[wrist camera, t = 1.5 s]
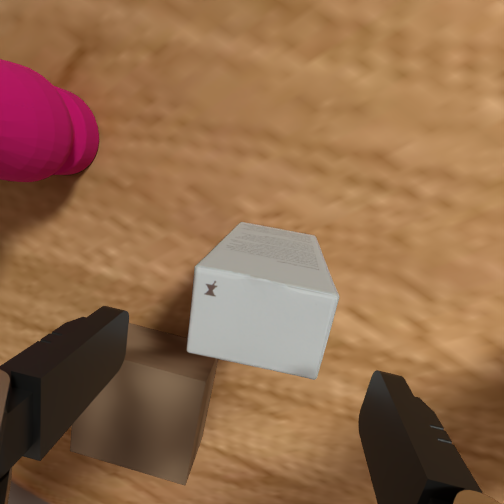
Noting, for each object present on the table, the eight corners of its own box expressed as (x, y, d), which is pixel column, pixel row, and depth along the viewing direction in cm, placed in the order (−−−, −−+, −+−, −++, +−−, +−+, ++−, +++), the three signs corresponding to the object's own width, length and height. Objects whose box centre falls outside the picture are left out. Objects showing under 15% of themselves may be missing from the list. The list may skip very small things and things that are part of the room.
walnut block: (221, 345, 27) (205, 381, 22) (202, 435, 30) (185, 485, 25) (114, 317, 28) (77, 346, 23) (105, 407, 31) (70, 451, 26)
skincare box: (232, 272, 25) (180, 353, 14) (240, 220, 24) (191, 261, 13) (306, 287, 25) (317, 385, 13) (318, 235, 24) (341, 292, 12)
